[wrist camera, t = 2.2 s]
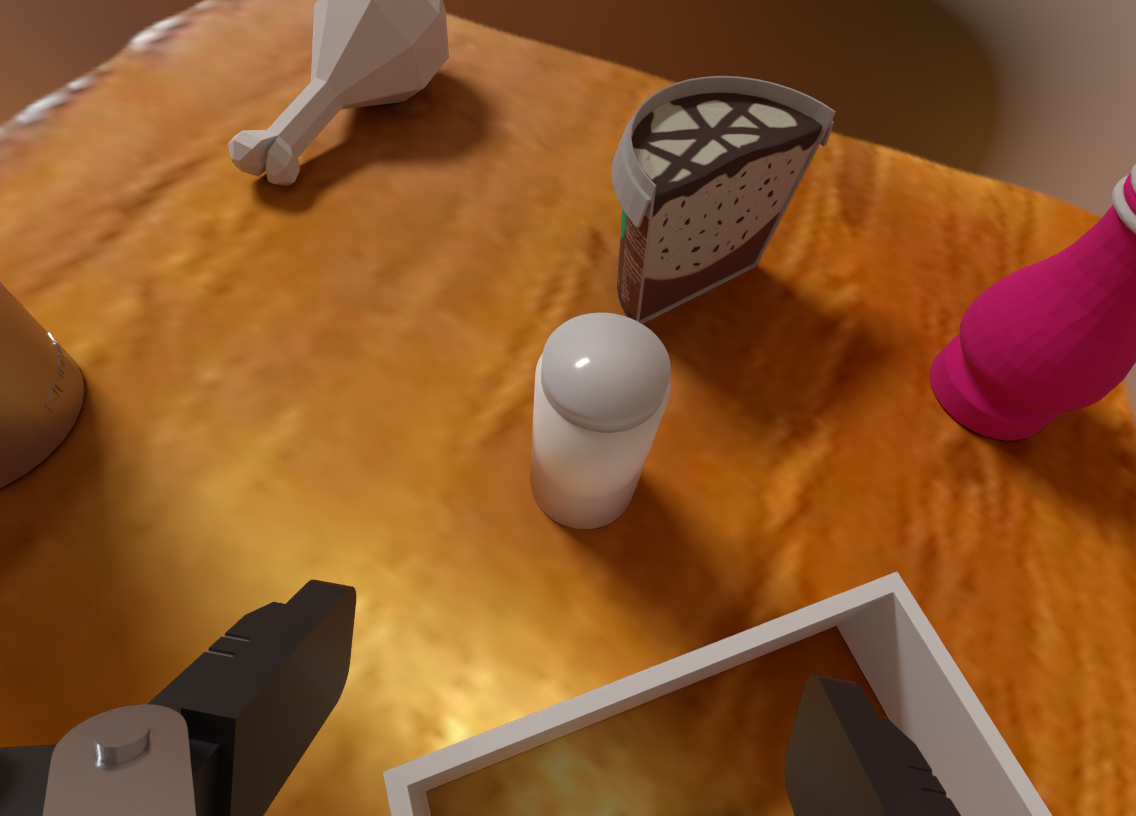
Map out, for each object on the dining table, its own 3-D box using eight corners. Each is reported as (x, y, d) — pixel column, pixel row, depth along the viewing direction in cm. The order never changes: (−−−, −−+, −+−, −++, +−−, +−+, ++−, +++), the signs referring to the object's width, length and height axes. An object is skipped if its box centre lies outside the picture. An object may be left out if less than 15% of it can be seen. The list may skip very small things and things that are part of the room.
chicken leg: (203, 168, 42) (173, 87, 34) (364, -2, 48) (369, -105, 40) (317, 245, 44) (313, 184, 36) (460, 71, 49) (482, -14, 42)
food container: (709, 199, 43) (758, 46, 34) (774, 257, 40) (843, 108, 32) (553, 267, 38) (564, 112, 30) (614, 338, 36) (645, 190, 27)
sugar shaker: (550, 543, 29) (564, 439, 21) (516, 450, 32) (517, 326, 24) (651, 510, 30) (700, 401, 22) (611, 423, 33) (642, 296, 25)
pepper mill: (992, 328, 38) (1371, -60, 21) (1082, 428, 35) (1619, 61, 18) (893, 357, 36) (1220, -39, 20) (977, 467, 33) (1462, 99, 16)
